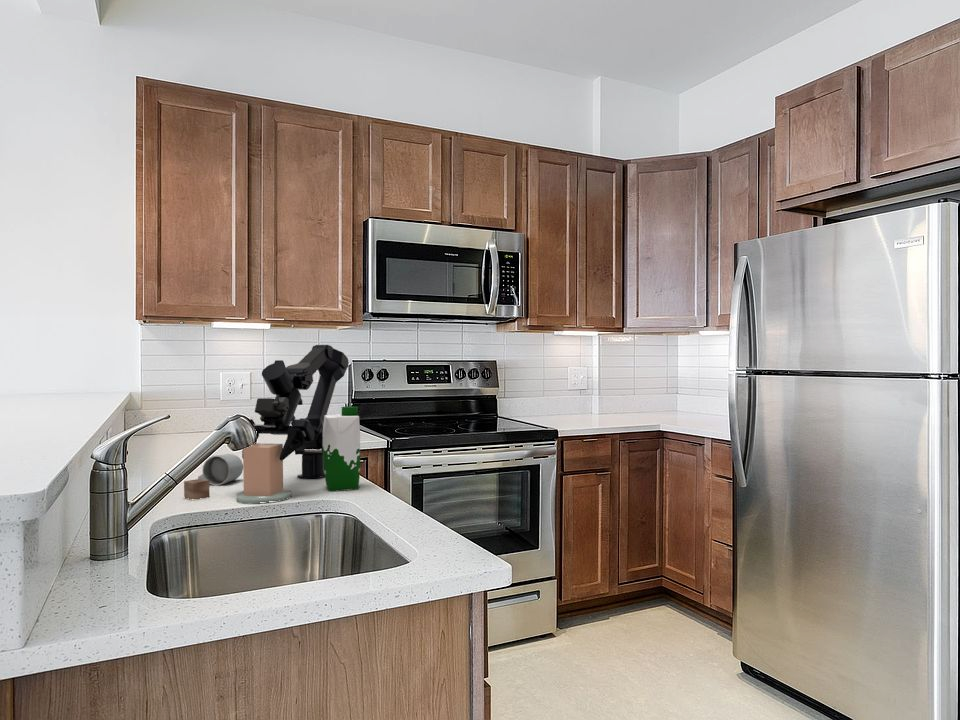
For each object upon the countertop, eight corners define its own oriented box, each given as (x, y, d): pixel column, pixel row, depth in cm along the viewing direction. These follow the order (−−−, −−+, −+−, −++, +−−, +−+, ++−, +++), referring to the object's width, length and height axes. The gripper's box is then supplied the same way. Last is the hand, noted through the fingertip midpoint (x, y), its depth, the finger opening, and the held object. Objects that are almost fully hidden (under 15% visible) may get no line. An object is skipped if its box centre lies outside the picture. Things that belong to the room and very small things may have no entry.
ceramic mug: (245, 479, 172) (244, 451, 172) (229, 485, 164) (229, 455, 164) (208, 480, 173) (207, 451, 173) (191, 486, 165) (190, 456, 165)
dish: (257, 491, 156) (257, 486, 156) (301, 493, 153) (301, 488, 153) (225, 502, 145) (224, 497, 145) (271, 505, 141) (271, 499, 141)
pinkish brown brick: (258, 489, 152) (257, 443, 152) (283, 490, 151) (282, 443, 151) (243, 495, 146) (243, 447, 146) (269, 496, 145) (269, 447, 145)
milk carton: (362, 489, 157) (361, 407, 157) (324, 492, 154) (323, 409, 154) (358, 483, 165) (357, 405, 165) (321, 485, 163) (321, 406, 163)
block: (200, 495, 153) (200, 478, 153) (209, 497, 151) (209, 480, 151) (184, 498, 150) (183, 481, 150) (192, 500, 147) (192, 483, 147)
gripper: (236, 385, 155) (210, 437, 144) (309, 385, 152) (288, 438, 141) (253, 415, 163) (230, 466, 152) (323, 415, 159) (304, 467, 149)
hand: (262, 459), depth 148 cm, fingers open, 9 cm apart
